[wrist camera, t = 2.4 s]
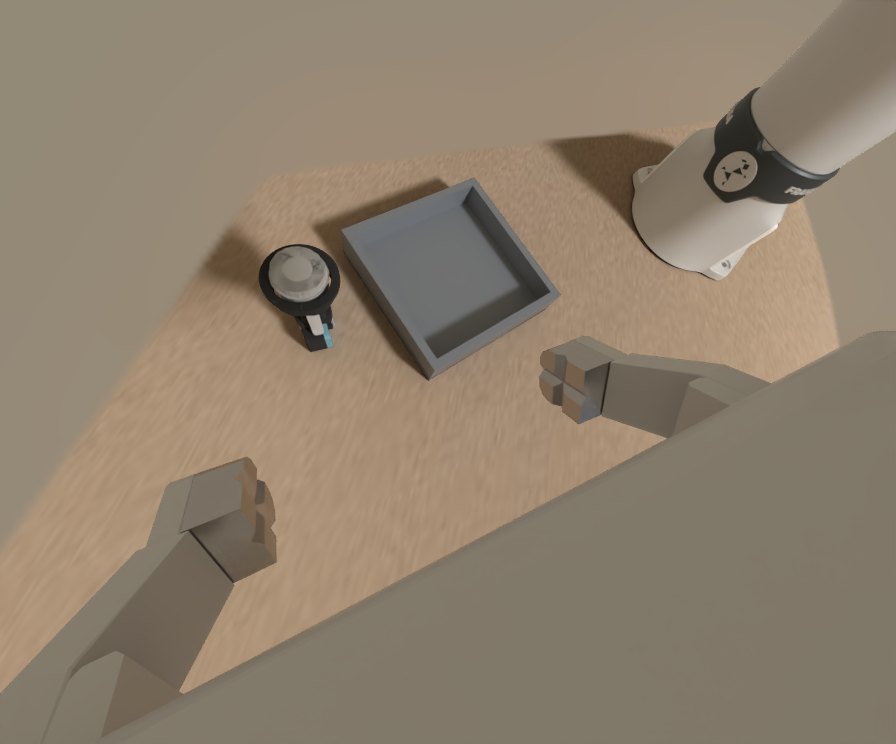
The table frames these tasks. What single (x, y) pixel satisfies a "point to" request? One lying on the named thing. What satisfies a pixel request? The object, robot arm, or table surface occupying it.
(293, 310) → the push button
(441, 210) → the dock tray
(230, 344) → the table surface
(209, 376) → the table surface
